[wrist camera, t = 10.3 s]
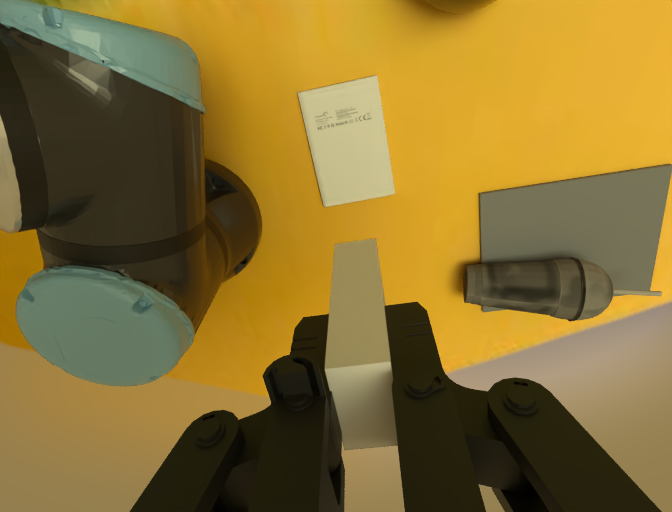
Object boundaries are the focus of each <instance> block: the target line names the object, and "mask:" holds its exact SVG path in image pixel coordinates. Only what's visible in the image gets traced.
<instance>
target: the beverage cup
mask: <svg viewBox="0 0 672 512" xmlns="http://www.w3.org/2000/svg"><path fill="white" fill-rule="evenodd" d="M463 292H464V302H465V303H471V304H477V305H480V306H487V307H494V308H502V309H509V310H516V311H523V312H530V313H538V314H545V315H550V316H552V317H556V318H560V319H567V320H568V321H575V320H583V319H589V318H593V317H595V316H597V315H599V314H600V313H602V312H603V311H604V310H605V309H606V308H607V307H608V306H609V304H610V303H611V301H612V297H613V294H628V295H647V296H661V295H662V292H661V291H642V290H623V289H613V284H612V281H611V279H610V277H609V275H608V274H607V273H606V272H605V271H604V270H603V269H602V268H601V267H600V266H598V265H596V264H594V263H592V262H589V261H586V260H582V259H576V258H573V257H570V258H569V259H568V258H563V259H556V260H552V261H536V262H510V263H483V264H474V265H466V266H465V272H464V286H463Z"/></svg>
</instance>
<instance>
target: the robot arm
mask: <svg viewBox="0 0 672 512" xmlns="http://www.w3.org/2000/svg"><path fill="white" fill-rule="evenodd" d="M203 114H206V108H205V106H204V105H203V103H202V91H201V77H200V66H199V62H198V59H197V56H196V54H195V52H194V51H193V50H192V48H191V47H190V46H189V45H188V44H187V43H185V42H184V41H183V40H181V39H179V38H177V37H174V36H171V35H168V34H165V33H161V32H157V31H154V30H150V29H146V28H142V27H138V26H134V25H130V24H126V23H122V22H118V21H114V20H110V19H105V18H101V17H97V16H93V15H88V14H84V13H79V12H75V11H70V10H63V9H60V8H57V7H52V6H47V5H43V4H38V3H35V2H31V1H27V0H0V229H1V230H3V231H5V232H7V233H15V232H21V231H26V230H31V229H36V230H37V235H38V239H39V244H40V249H41V253H42V257H43V262H44V268H43V270H41V271H40V272H38V273H36V274H34V275H33V276H32V277H30V278H29V279H28V281H27V283H26V285H25V287H24V289H23V290H22V291H21V293H20V294H19V296H18V299H17V302H16V318H17V322H18V325H19V328H20V329H21V331H22V333H23V335H24V337H25V338H26V340H27V341H28V342H29V344H30V345H31V346H32V347H33V348H34V349H35V350H36V351H37V352H38V353H39V354H40V355H41V356H42V357H44V358H45V359H46V360H47V361H49V362H50V363H51V364H53V365H56V366H57V367H60V368H61V369H63V370H64V371H66V372H67V373H69V374H71V375H73V376H76V377H78V378H81V379H84V380H87V381H90V382H94V383H98V384H103V385H110V386H136V385H142V384H146V383H149V382H152V381H155V380H157V379H158V378H159V377H161V376H163V375H165V374H167V373H168V372H170V371H171V370H172V369H173V368H174V367H175V366H176V364H177V363H178V361H179V360H180V359H181V357H182V356H183V355H184V353H185V352H186V351H187V350H188V348H189V347H190V346H191V345H192V343H193V340H194V335H195V334H196V332H197V330H198V328H199V326H200V324H201V322H202V320H203V318H204V316H205V314H206V312H207V310H208V308H209V306H210V304H211V302H212V301H213V299H214V297H215V295H216V293H217V291H218V289H219V287H220V285H221V284H222V283H223V282H225V281H227V280H228V279H230V278H232V277H233V276H235V275H237V274H238V273H239V272H240V271H242V270H243V269H244V268H245V267H246V265H247V264H248V263H249V262H250V260H251V259H252V257H253V255H254V253H255V251H256V249H257V247H258V244H259V241H260V238H261V232H262V220H261V214H260V210H259V207H258V204H257V202H256V200H255V198H254V196H253V194H252V192H251V191H250V189H249V188H248V187H247V186H246V184H245V183H244V182H243V181H242V180H241V179H240V178H239V177H238V176H237V175H235V174H234V173H233V172H232V171H230V170H229V169H227V168H225V167H224V166H222V165H220V164H218V163H215V162H213V161H210V160H207V159H204V130H203ZM263 379H264V382H265V385H266V388H267V391H268V394H269V397H270V400H271V405H270V406H269V407H267V408H266V409H264V410H262V411H260V412H258V413H256V414H253V415H251V416H248V417H245V418H242V419H240V420H238V418H237V417H236V416H235V415H234V414H233V413H232V412H228V411H225V410H220V411H212V412H209V413H207V414H204V415H202V416H201V417H199V418H198V419H196V420H195V421H193V422H192V423H191V425H190V426H189V427H188V428H187V429H186V430H185V431H184V433H183V434H182V436H181V437H180V439H179V440H178V442H177V443H176V445H175V446H174V448H173V449H172V450H171V452H170V453H169V455H168V456H167V458H166V459H165V461H164V462H163V464H162V465H161V467H160V468H159V470H158V471H157V472H156V474H155V475H154V477H153V478H152V480H151V481H150V483H149V484H148V486H147V487H146V488H145V490H144V491H143V493H142V494H141V496H140V497H139V499H138V501H137V502H136V503H135V505H134V506H133V508H132V509H131V510H130V512H344V488H345V482H344V481H345V469H344V464H343V460H342V456H341V449H342V442H343V446H344V450H353V449H364V448H374V447H385V446H397V445H398V452H399V461H400V470H401V479H402V488H403V497H404V507H405V512H486V510H485V506H484V503H483V499H482V496H481V492H480V488H479V485H478V484H480V485H485V486H489V487H492V490H493V492H494V494H495V495H496V497H497V499H498V500H499V502H500V504H501V505H502V507H503V509H504V511H505V512H661V511H660V509H659V508H657V506H656V505H655V504H654V503H653V502H652V501H651V500H650V499H649V498H648V497H647V496H646V494H645V493H644V492H643V491H642V490H641V489H640V488H639V487H638V486H637V485H636V484H635V483H634V482H633V481H632V479H631V478H630V477H629V476H628V475H627V474H626V473H625V472H624V471H623V470H622V469H621V468H620V466H619V465H618V464H617V463H616V462H615V461H614V460H613V459H612V458H611V457H610V456H609V455H608V454H607V453H606V451H605V450H604V449H603V448H602V447H601V446H600V445H599V444H598V443H597V442H596V441H595V440H594V439H593V437H592V436H591V435H590V434H589V433H588V432H587V431H586V430H585V429H584V428H583V427H582V426H581V425H580V424H579V422H577V420H576V419H575V418H574V417H573V416H572V415H571V414H570V413H569V412H568V411H567V410H566V409H565V407H564V406H563V405H562V404H561V403H560V402H559V401H558V400H557V399H556V398H555V397H554V396H553V394H552V393H551V392H550V391H548V390H547V389H546V388H544V387H543V386H542V385H541V384H539V383H536V382H534V381H531V380H529V379H522V378H509V379H503V380H501V381H499V382H497V383H495V384H494V385H493V386H492V387H491V389H490V390H489V391H480V390H474V389H470V388H465V387H463V386H460V385H458V384H456V383H455V382H453V381H452V380H450V379H449V378H448V376H447V375H446V374H445V372H444V370H443V368H442V364H441V361H440V357H439V354H438V350H437V346H436V343H435V339H434V335H433V332H432V328H431V324H430V321H429V317H428V313H427V310H425V309H424V308H423V307H422V306H421V305H420V304H419V303H418V302H411V303H403V304H396V305H388V306H386V305H385V297H384V291H383V284H382V277H381V270H380V264H379V257H378V250H377V243H376V238H375V239H368V240H361V241H354V242H347V243H340V244H335V249H334V261H333V273H332V285H331V297H330V310H329V314H326V315H318V316H310V317H303V319H302V320H301V321H300V322H299V324H298V325H297V326H296V328H295V330H294V335H293V342H292V346H291V352H290V355H287V356H283V357H281V358H279V359H277V360H276V361H274V362H273V363H272V364H271V365H270V366H268V367H267V369H266V370H265V372H264V374H263Z"/></svg>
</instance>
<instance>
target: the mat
mask: <svg viewBox="0 0 672 512" xmlns="http://www.w3.org/2000/svg"><path fill="white" fill-rule="evenodd" d="M671 172H672V165H671V164H665V165H658V166H652V167H645V168H639V169H632V170H626V171H619V172H613V173H606V174H600V175H593V176H586V177H580V178H573V179H567V180H560V181H554V182H547V183H541V184H534V185H528V186H521V187H515V188H508V189H501V190H495V191H488V192H482V193H479V210H480V248H481V264H483V263H510V262H536V261H552V260H556V259H563V258H568V259H569V258H570V257H573V258H576V259H582V260H586V261H589V262H592V263H594V264H596V265H598V266H600V267H601V268H602V269H603V270H604V271H605V272H606V273H607V274H608V275H609V277H610V279H611V281H612V284H613V289H623V290H642V291H650V287H651V282H652V276H653V271H654V265H655V260H656V254H657V249H658V243H659V238H660V232H661V227H662V221H663V216H664V210H665V205H666V199H667V194H668V189H669V183H670V178H671ZM621 295H628V294H613V296H621ZM498 310H507V309H502V308H494V307H487V306H482V311H483V312H490V311H498Z"/></svg>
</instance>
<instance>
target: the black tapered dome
mask: <svg viewBox="0 0 672 512" xmlns="http://www.w3.org/2000/svg"><path fill="white" fill-rule="evenodd" d="M425 1H426V2H427V3H429V4H430V5H432V6H433V7H435V8H437V9H439V10H442V11H445V12H450V13H467V12H472V11H476V10H479V9H481V8H484V7H486V6H488V5H490V4H492V3H493V2H495V1H496V0H425Z"/></svg>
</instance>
